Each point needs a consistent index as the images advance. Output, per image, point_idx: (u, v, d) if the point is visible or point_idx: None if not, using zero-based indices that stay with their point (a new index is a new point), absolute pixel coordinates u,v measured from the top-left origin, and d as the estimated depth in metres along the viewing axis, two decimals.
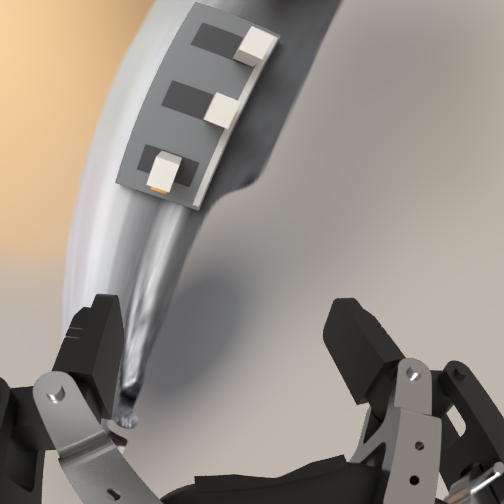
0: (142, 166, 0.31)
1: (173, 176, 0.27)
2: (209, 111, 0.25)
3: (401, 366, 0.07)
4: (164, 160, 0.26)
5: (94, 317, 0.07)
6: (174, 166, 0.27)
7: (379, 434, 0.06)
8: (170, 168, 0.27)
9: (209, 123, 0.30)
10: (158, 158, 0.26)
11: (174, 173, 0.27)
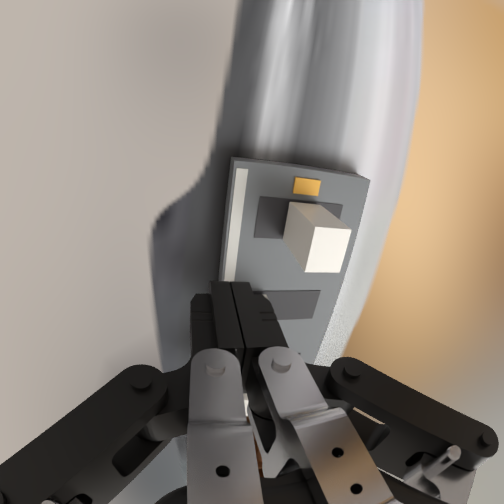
0: (335, 211, 0.22)
1: (311, 253, 0.17)
2: None
3: (263, 364, 0.07)
4: (327, 270, 0.18)
5: (220, 300, 0.09)
6: (311, 267, 0.17)
7: (280, 447, 0.05)
8: (317, 263, 0.17)
9: (255, 289, 0.24)
10: (336, 271, 0.18)
11: (310, 257, 0.17)
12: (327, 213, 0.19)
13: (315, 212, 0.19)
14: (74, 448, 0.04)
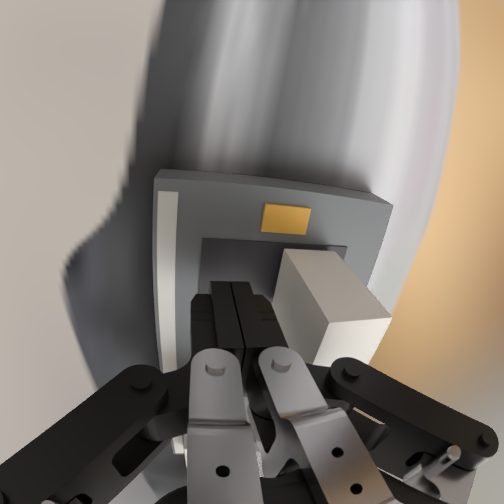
0: None
1: (317, 361, 0.09)
2: None
3: (263, 364, 0.07)
4: None
5: (220, 300, 0.09)
6: None
7: (280, 447, 0.05)
8: None
9: None
10: None
11: None
12: (347, 274, 0.11)
13: (328, 274, 0.11)
14: (74, 448, 0.04)
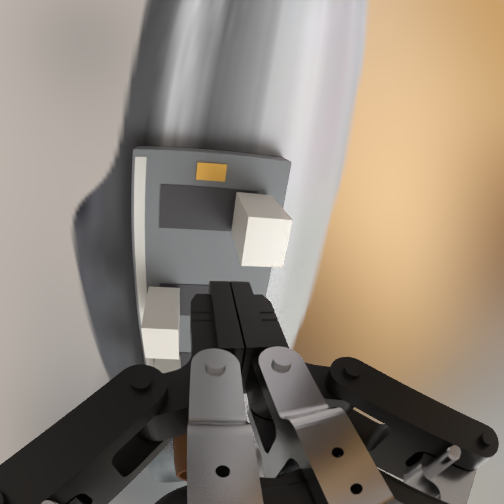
0: None
1: (246, 245, 0.16)
2: (176, 339, 0.18)
3: (263, 364, 0.07)
4: (267, 265, 0.17)
5: (220, 300, 0.09)
6: (249, 261, 0.17)
7: (280, 447, 0.05)
8: (255, 256, 0.16)
9: (168, 282, 0.22)
10: (278, 265, 0.17)
11: (246, 250, 0.16)
12: (273, 203, 0.18)
13: (259, 202, 0.18)
14: (74, 448, 0.04)
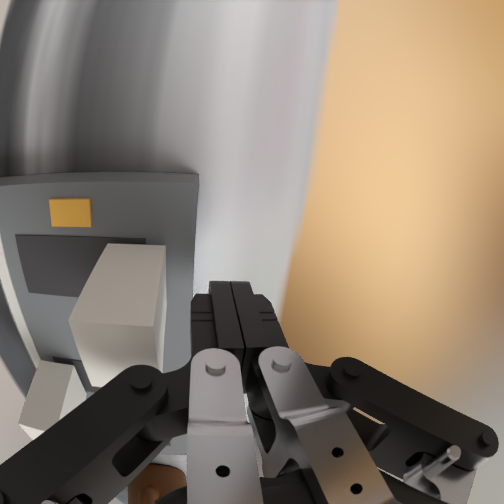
0: None
1: (86, 361, 0.07)
2: None
3: (263, 364, 0.07)
4: None
5: (220, 300, 0.09)
6: (100, 381, 0.08)
7: (280, 447, 0.05)
8: (107, 376, 0.08)
9: (62, 356, 0.13)
10: None
11: (88, 368, 0.07)
12: (150, 270, 0.09)
13: (124, 270, 0.09)
14: (74, 448, 0.04)
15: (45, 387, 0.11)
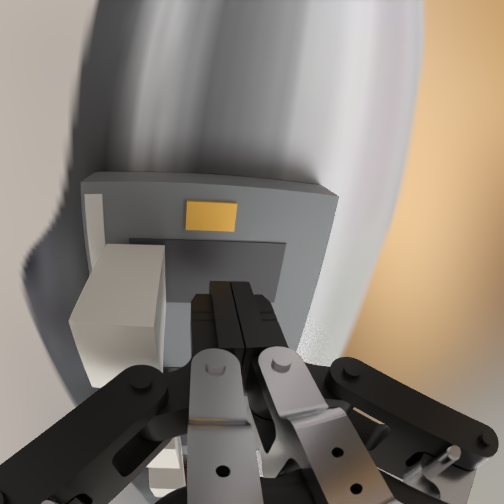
0: (272, 254, 0.13)
1: (86, 362, 0.07)
2: (173, 456, 0.11)
3: (262, 364, 0.07)
4: None
5: (220, 300, 0.09)
6: (101, 382, 0.08)
7: (280, 447, 0.05)
8: (107, 377, 0.08)
9: None
10: None
11: (89, 369, 0.07)
12: (150, 270, 0.09)
13: (124, 270, 0.09)
14: (74, 448, 0.04)
15: None
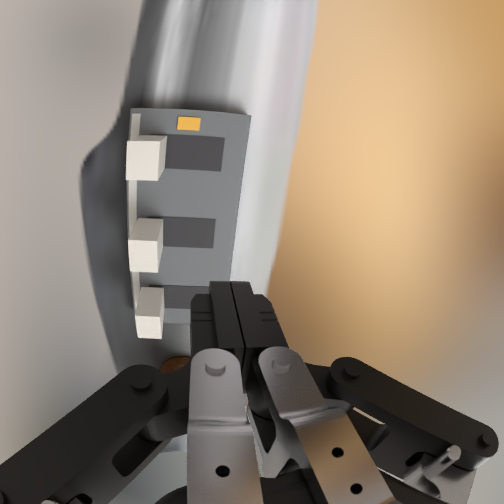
0: (218, 143, 0.25)
1: (128, 163, 0.19)
2: (155, 251, 0.23)
3: (263, 363, 0.07)
4: (145, 179, 0.20)
5: (220, 300, 0.09)
6: (130, 175, 0.20)
7: (280, 447, 0.05)
8: (135, 171, 0.20)
9: (154, 215, 0.27)
10: (154, 179, 0.20)
11: (128, 167, 0.19)
12: (160, 137, 0.21)
13: (148, 137, 0.21)
14: (74, 448, 0.04)
15: (145, 226, 0.25)
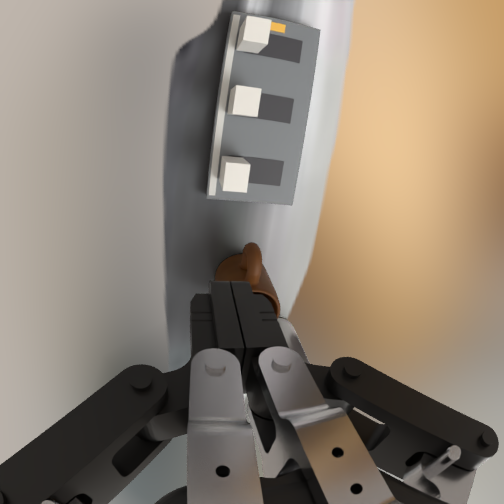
0: (297, 44, 0.27)
1: (246, 29, 0.22)
2: (258, 97, 0.25)
3: (263, 363, 0.07)
4: (258, 41, 0.22)
5: (220, 300, 0.09)
6: (247, 37, 0.22)
7: (280, 447, 0.05)
8: (251, 35, 0.22)
9: None
10: (265, 43, 0.23)
11: (245, 32, 0.22)
12: None
13: None
14: (74, 448, 0.04)
15: None
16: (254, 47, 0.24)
